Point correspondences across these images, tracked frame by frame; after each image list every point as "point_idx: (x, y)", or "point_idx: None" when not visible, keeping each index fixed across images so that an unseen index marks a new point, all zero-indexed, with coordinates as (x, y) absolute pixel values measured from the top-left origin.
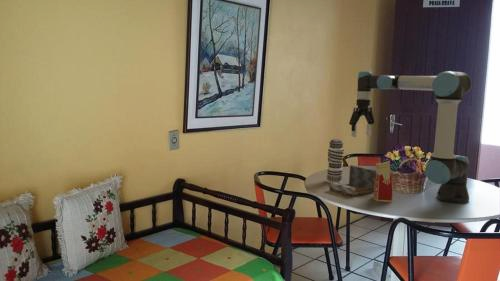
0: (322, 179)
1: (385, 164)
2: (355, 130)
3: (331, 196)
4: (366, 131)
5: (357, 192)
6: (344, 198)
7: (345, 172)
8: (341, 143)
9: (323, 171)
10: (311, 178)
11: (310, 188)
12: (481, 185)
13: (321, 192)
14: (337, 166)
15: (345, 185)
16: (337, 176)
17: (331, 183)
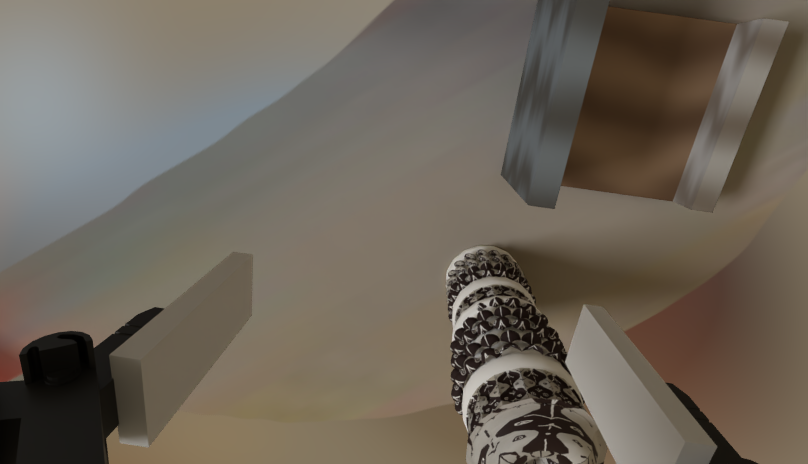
0: None
1: None
2: (653, 372)
3: (800, 124)
4: (228, 344)
5: (698, 31)
6: (802, 49)
7: (249, 343)
8: (542, 401)
9: (324, 418)
10: None
11: (700, 283)
12: None
13: (747, 205)
14: (524, 298)
15: (731, 104)
16: (507, 268)
17: (716, 196)
